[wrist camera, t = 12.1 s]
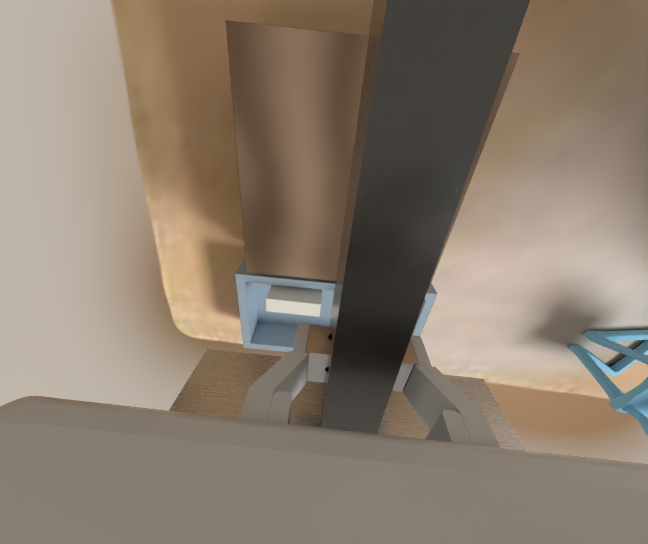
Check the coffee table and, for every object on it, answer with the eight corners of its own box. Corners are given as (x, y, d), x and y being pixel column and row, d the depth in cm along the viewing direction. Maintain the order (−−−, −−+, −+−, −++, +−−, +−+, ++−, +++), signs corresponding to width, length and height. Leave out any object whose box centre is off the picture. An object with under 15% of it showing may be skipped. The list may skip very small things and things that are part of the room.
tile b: (321, 304, 23) (319, 316, 23) (323, 274, 27) (322, 286, 28) (265, 298, 23) (266, 311, 23) (277, 269, 27) (277, 281, 28)
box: (424, 271, 27) (437, 294, 23) (401, 337, 32) (408, 363, 29) (248, 253, 27) (235, 273, 23) (253, 323, 32) (243, 347, 28)
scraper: (128, -85, 7) (-106, -328, 3) (726, -22, 7) (1159, -195, 3) (210, 367, 15) (171, 437, 12) (473, 396, 15) (513, 475, 12)
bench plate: (475, 68, 18) (519, 53, 14) (413, 262, 26) (428, 290, 22) (252, 43, 18) (225, 20, 13) (261, 246, 26) (247, 272, 22)
